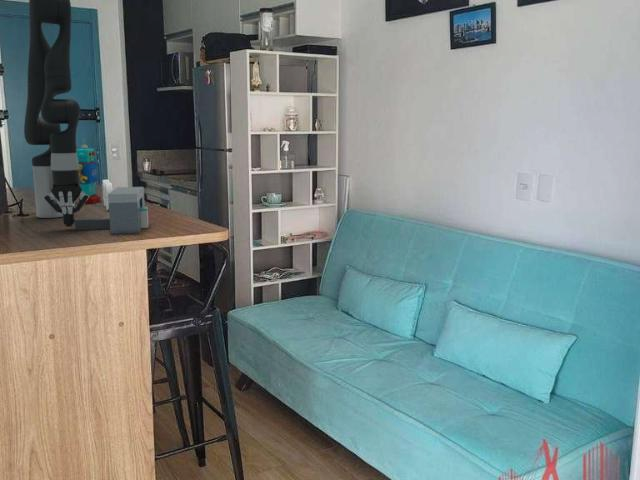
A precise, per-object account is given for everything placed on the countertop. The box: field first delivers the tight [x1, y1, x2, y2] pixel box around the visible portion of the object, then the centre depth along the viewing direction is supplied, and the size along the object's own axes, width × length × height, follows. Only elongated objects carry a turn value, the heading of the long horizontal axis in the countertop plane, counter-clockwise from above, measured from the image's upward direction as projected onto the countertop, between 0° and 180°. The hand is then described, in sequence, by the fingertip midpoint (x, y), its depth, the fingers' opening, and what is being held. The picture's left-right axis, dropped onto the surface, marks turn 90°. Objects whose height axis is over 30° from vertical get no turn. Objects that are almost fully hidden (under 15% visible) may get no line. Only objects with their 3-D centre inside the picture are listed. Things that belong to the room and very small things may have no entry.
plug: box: [74, 206, 149, 231], centre depth 193 cm, size 4×21×6 cm, turn 102°
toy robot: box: [76, 138, 102, 205], centre depth 249 cm, size 12×6×25 cm, turn 179°
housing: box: [108, 186, 146, 235], centre depth 193 cm, size 18×8×12 cm, turn 9°
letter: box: [101, 179, 114, 212], centre depth 236 cm, size 22×2×10 cm, turn 22°
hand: (69, 226), depth 191 cm, fingers closed
